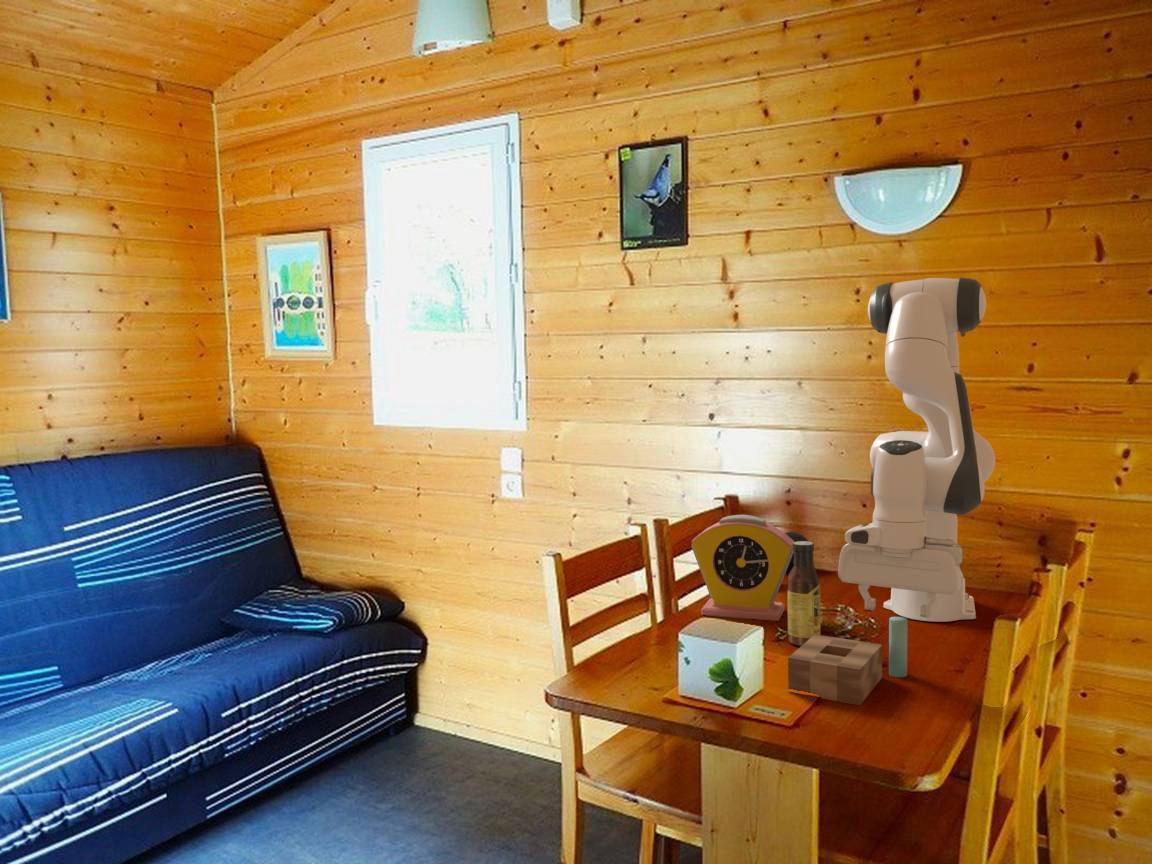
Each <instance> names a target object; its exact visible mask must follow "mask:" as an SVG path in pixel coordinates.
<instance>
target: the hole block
mask: <svg viewBox="0 0 1152 864" xmlns="http://www.w3.org/2000/svg"><path fill="white" fill-rule="evenodd" d="M787 659H788V661H787V663H788V664H787V667H788V668H787V670H788V671H787V672H788V673H787V677H788V680H787V682H788V687H787V689H793V690H797V691H804V692H808V693H813V694H817V695H819V696H820V697H821V698H820V699H823V700H829V701H834V702H835V701H836V702H839V703H845V704H850V705H856V706H861V704H863V703H864V701H865V700H866V698H868V696H869V695H870V693H871V692H872V691H873V690H874V689H875V687H876V686H877V685H878V684H879V682H880V681H881V680H882V678H883V644H881V643H874V642H868V641H861V640H854V639H847V638H841V637H834V636H828V635H821V634H820V635H815V634H814V635H813V636H812V637H811V638H810V639H809V640H808V641H807V642H805V643H804V644H803V645H802V646H799V648H798V649H796V650H795V651H793V653H792V654H790V655H789V656H788V658H787Z"/></svg>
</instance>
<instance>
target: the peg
mask: <svg viewBox="0 0 1152 864" xmlns="http://www.w3.org/2000/svg"><path fill="white" fill-rule="evenodd" d="M888 623H889V624H888V631H889V632H888V635H889V636H888V650H889V651H888V675H889V676H890V677H892V678H893V677H894V678H898V679H899V678H906V677H908V618H907V617H903V616H891V617H889V619H888Z"/></svg>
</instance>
